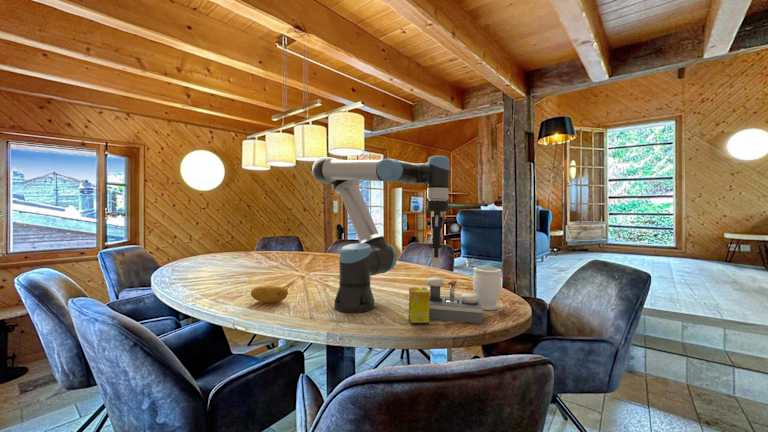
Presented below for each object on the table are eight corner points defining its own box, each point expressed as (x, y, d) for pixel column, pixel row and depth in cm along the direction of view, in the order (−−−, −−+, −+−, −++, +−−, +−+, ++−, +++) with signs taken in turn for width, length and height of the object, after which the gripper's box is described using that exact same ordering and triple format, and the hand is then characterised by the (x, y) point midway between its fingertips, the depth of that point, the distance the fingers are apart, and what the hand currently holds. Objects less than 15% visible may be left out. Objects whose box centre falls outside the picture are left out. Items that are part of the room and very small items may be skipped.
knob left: (426, 299, 116) (427, 280, 116) (427, 295, 122) (428, 276, 122) (442, 301, 115) (443, 281, 115) (443, 296, 121) (443, 277, 121)
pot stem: (445, 316, 116) (446, 281, 116) (445, 312, 120) (446, 279, 120) (457, 317, 115) (458, 282, 115) (457, 313, 119) (458, 280, 119)
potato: (283, 306, 123) (283, 288, 123) (247, 305, 124) (247, 287, 124) (290, 300, 131) (290, 283, 131) (256, 299, 132) (257, 282, 132)
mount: (421, 318, 114) (422, 303, 113) (424, 307, 126) (425, 294, 125) (482, 323, 109) (482, 308, 109) (479, 312, 121) (479, 298, 121)
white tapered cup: (502, 312, 121) (503, 272, 121) (473, 310, 124) (474, 270, 123) (498, 304, 132) (499, 266, 131) (471, 302, 134) (472, 265, 133)
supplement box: (408, 318, 113) (408, 287, 112) (425, 318, 113) (426, 287, 113) (411, 325, 107) (411, 291, 106) (429, 325, 107) (430, 291, 107)
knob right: (461, 316, 114) (461, 296, 114) (460, 311, 120) (461, 292, 119) (477, 318, 113) (478, 298, 113) (476, 313, 119) (477, 293, 118)
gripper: (448, 200, 110) (446, 270, 111) (448, 200, 123) (446, 263, 124) (425, 199, 112) (423, 268, 113) (428, 200, 125) (426, 262, 125)
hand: (435, 266), depth 118 cm, fingers closed
